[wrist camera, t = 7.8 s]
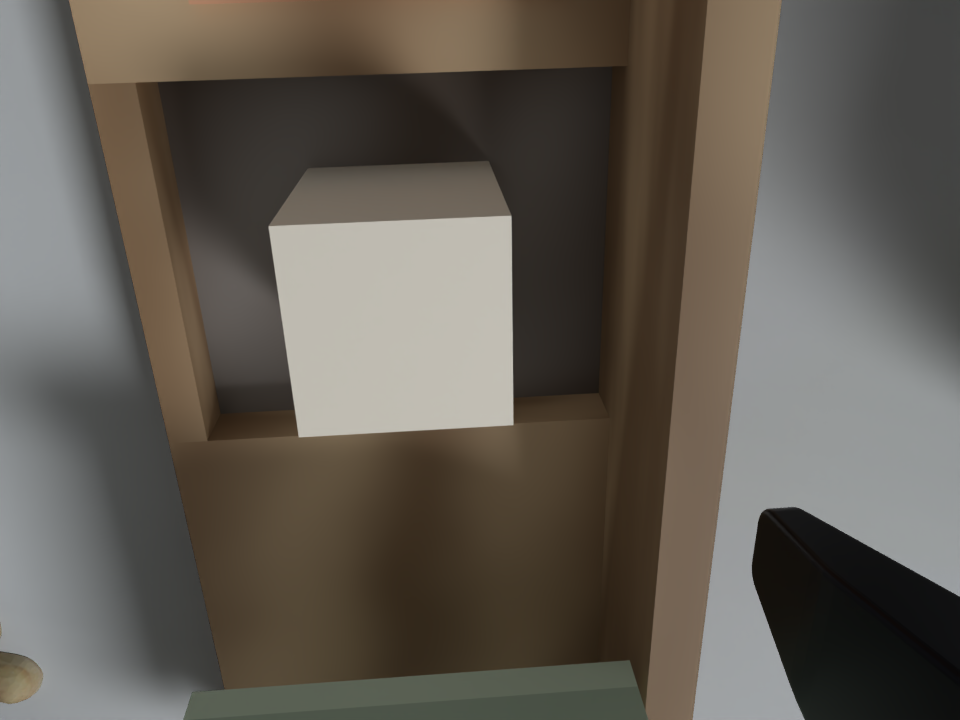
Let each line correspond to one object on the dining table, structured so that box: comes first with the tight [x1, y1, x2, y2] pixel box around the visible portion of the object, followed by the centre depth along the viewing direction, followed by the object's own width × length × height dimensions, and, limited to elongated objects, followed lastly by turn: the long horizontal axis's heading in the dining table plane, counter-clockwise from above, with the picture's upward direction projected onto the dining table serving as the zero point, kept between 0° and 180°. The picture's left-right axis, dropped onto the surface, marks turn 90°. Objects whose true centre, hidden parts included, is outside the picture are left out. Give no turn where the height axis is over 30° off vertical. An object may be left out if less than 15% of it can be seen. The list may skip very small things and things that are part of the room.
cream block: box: [268, 161, 513, 437], centre depth 18 cm, size 4×4×6 cm
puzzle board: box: [69, 0, 782, 720], centre depth 19 cm, size 13×34×7 cm, turn 1°
